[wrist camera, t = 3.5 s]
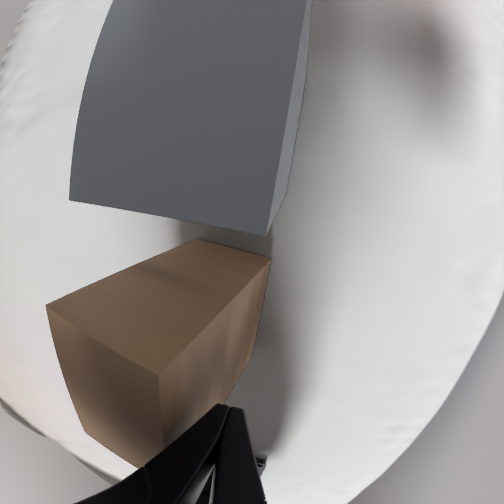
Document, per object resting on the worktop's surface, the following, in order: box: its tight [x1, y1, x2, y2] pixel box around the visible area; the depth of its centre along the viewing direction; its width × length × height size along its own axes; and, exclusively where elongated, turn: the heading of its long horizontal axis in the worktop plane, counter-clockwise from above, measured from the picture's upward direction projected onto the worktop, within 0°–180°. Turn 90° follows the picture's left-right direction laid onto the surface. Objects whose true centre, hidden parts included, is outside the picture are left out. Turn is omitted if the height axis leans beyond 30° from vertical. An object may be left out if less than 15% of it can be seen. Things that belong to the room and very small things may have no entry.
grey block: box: [69, 0, 312, 236], centre depth 8 cm, size 6×4×9 cm, turn 170°
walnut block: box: [46, 239, 272, 469], centre depth 10 cm, size 6×4×9 cm, turn 170°
